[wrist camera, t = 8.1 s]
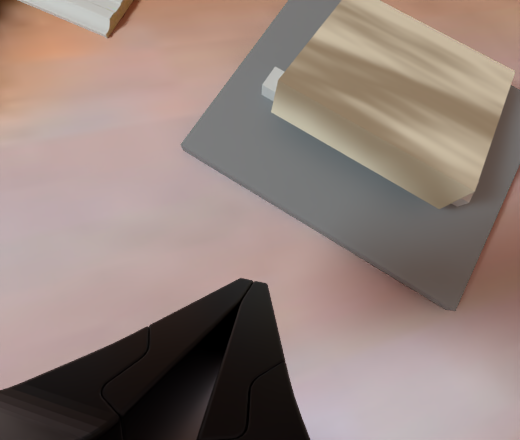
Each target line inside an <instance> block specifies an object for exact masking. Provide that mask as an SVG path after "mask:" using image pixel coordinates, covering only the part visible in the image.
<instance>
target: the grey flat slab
mask: <svg viewBox="0 0 520 440" xmlns="http://www.w3.org/2000/svg"><path fill="white" fill-rule="evenodd" d="M340 2H341V0H288V2H287V3H286V4H285V6H284V7H283V8H282V10H281V11H280V12H279V14H278V15H277V16H276V18H275V19H274V20H273V22H272V23H271V24H270V26H269V27H268V28H267V30H266V31H265V32H264V34H263V35H262V36H261V38H260V39H259V40H258V42H257V43H256V45H255V46H254V47H253V49H252V50H251V51H250V53H249V54H248V55H247V57H246V58H245V59H244V61H243V62H242V63H241V65H240V66H239V67H238V69H237V70H236V71H235V73H234V74H233V75H232V77H231V78H230V79H229V81H228V82H227V83H226V85H225V86H224V87H223V89H222V90H221V91H220V93H219V94H218V95H217V97H216V98H215V99H214V101H213V102H212V103H211V105H210V106H209V107H208V109H207V110H206V111H205V113H204V114H203V115H202V117H201V118H200V119H199V121H198V122H197V123H196V125H195V126H194V127H193V129H192V130H191V131H190V133H189V134H188V135H187V137H186V138H185V139H184V141H183V142H182V143H181V146H182V148H183V150H184V151H185V152H187V153H189V154H190V155H192V156H194V157H195V158H197V159H199V160H200V161H202V162H204V163H205V164H207V165H209V166H210V167H212V168H213V169H215V170H217V171H218V172H220V173H222V174H223V175H225V176H227V177H228V178H230V179H232V180H233V181H235V182H237V183H238V184H240V185H241V186H243V187H245V188H246V189H248V190H250V191H251V192H253V193H255V194H256V195H258V196H260V197H261V198H263V199H265V200H266V201H268V202H269V203H271V204H273V205H274V206H276V207H278V208H279V209H281V210H283V211H284V212H286V213H288V214H289V215H291V216H293V217H294V218H296V219H297V220H299V221H301V222H302V223H304V224H306V225H307V226H309V227H311V228H312V229H314V230H316V231H317V232H319V233H321V234H322V235H324V236H325V237H327V238H329V239H330V240H332V241H334V242H335V243H337V244H339V245H340V246H342V247H344V248H345V249H347V250H349V251H350V252H352V253H353V254H355V255H357V256H358V257H360V258H362V259H363V260H365V261H367V262H368V263H370V264H372V265H373V266H375V267H377V268H378V269H380V270H381V271H383V272H385V273H386V274H388V275H390V276H391V277H393V278H395V279H396V280H398V281H400V282H401V283H403V284H405V285H406V286H408V287H409V288H411V289H413V290H414V291H416V292H418V293H419V294H421V295H423V296H424V297H426V298H428V299H429V300H431V301H433V302H434V303H436V304H437V305H439V306H441V307H442V308H444V309H446V310H452V311H456V308H457V306H458V304H459V301H460V299H461V297H462V295H463V292H464V290H465V288H466V286H467V283H468V281H469V279H470V276H471V274H472V272H473V270H474V267H475V265H476V263H477V261H478V258H479V256H480V254H481V251H482V249H483V247H484V245H485V242H486V240H487V238H488V236H489V233H490V231H491V229H492V226H493V224H494V222H495V220H496V217H497V215H498V213H499V211H500V208H501V206H502V204H503V201H504V199H505V197H506V195H507V192H508V190H509V188H510V186H511V183H512V181H513V179H514V176H515V174H516V172H517V170H518V167H519V165H520V90H519V89H517V88H515V87H513V86H510V89H509V92H508V95H507V98H506V101H505V104H504V107H503V110H502V113H501V116H500V119H499V121H498V124H497V127H496V130H495V133H494V136H493V139H492V142H491V145H490V148H489V151H488V154H487V157H486V160H485V163H484V166H483V169H482V172H481V175H480V178H479V181H478V184H477V187H476V190H475V192H473V193H471V194H469V195H467V196H465V197H463V198H461V199H459V200H457V201H455V202H453V203H451V204H449V205H447V206H445V207H443V208H441V209H438V208H436V207H434V206H433V205H431V204H429V203H428V202H426V201H424V200H422V199H421V198H419V197H417V196H415V195H414V194H412V193H410V192H408V191H407V190H405V189H403V188H402V187H400V186H398V185H396V184H395V183H393V182H391V181H389V180H388V179H386V178H384V177H383V176H381V175H379V174H377V173H376V172H374V171H372V170H370V169H369V168H367V167H365V166H363V165H362V164H360V163H358V162H357V161H355V160H353V159H351V158H350V157H348V156H346V155H344V154H343V153H341V152H339V151H337V150H336V149H334V148H332V147H331V146H329V145H327V144H325V143H324V142H322V141H320V140H318V139H317V138H315V137H313V136H312V135H310V134H308V133H306V132H305V131H303V130H301V129H299V128H298V127H296V126H294V125H292V124H291V123H289V122H287V121H286V120H284V119H282V118H280V117H279V116H277V115H275V114H273V113H272V112H271V110H272V105H273V101H274V96H275V92H276V87H277V83H278V80H279V78H280V77H281V76H282V74H283V73H284V72H285V71H286V69H287V68H288V67H289V66H290V64H291V63H292V62H293V61H294V59H295V58H296V57H297V56H298V54H299V53H300V52H301V51H302V49H303V48H304V47H305V46H306V44H307V43H308V42H309V41H310V39H311V38H312V37H313V36H314V34H315V33H316V32H317V31H318V29H319V28H320V27H321V26H322V24H323V23H324V22H325V21H326V19H327V18H328V17H329V16H330V14H331V13H332V12H333V11H334V9H335V8H336V7H337V5H338V4H339V3H340Z"/></svg>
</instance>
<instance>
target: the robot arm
mask: <svg viewBox="0 0 520 440" xmlns="http://www.w3.org/2000/svg"><path fill="white" fill-rule="evenodd" d="M0 440H310V438H309V435H308V432H307V430H306V427H305V425H304V422H303V419H302V417H301V414H300V411H299V408H298V405H297V402H296V399H295V397H294V393H293V389H292V386H291V382H290V378H289V375H288V370H287V366H286V363H285V358H284V354H283V349H282V345H281V341H280V336H279V332H278V328H277V323H276V319H275V315H274V310H273V306H272V302H271V297H270V293H269V289H268V285H267V284H266V283H262V282H258V281H255V282H253V281H252V280H248V279H243V278H240V279H238V280H236V281H234V282H232V283H230V284H228V285H226V286H224V287H222V288H220V289H218V290H217V291H215V292H213V293H211V294H209V295H207V296H205V297H203V298H201V299H199V300H197V301H195V302H193V303H191V304H190V305H188V306H186V307H184V308H182V309H180V310H178V311H176V312H174V313H172V314H170V315H168V316H166V317H164V318H162V319H161V320H159V321H157V322H155V323H153V324H151V325H150V326H149V327H145V328H143V329H141V330H139V331H137V332H135V333H133V334H131V335H129V336H127V337H125V338H123V339H121V340H119V341H117V342H115V343H113V344H111V345H108V346H106V347H104V348H102V349H99V350H97V351H95V352H93V353H90V354H88V355H86V356H84V357H81V358H79V359H76V360H74V361H72V362H69V363H67V364H65V365H62V366H60V367H58V368H55V369H53V370H51V371H48V372H46V373H44V374H41V375H39V376H36V377H34V378H32V379H29V380H27V381H25V382H22V383H20V384H17V385H15V386H12V387H9V388H6V389H3V390H0Z"/></svg>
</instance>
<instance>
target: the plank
mask: <svg viewBox="0 0 520 440" xmlns="http://www.w3.org/2000/svg"><path fill="white" fill-rule="evenodd" d="M514 74H515V71H514V70H512V69H510V68H508V67H506V66H504V65H502V64H500V63H498V62H496V61H495V60H493V59H491V58H489V57H487V56H485V55H483V54H481V53H479V52H477V51H475V50H474V49H472V48H470V47H468V46H466V45H464V44H462V43H460V42H458V41H456V40H454V39H452V38H451V37H449V36H447V35H445V34H443V33H441V32H439V31H437V30H435V29H433V28H431V27H430V26H428V25H426V24H424V23H422V22H420V21H418V20H416V19H414V18H412V17H410V16H409V15H407V14H405V13H403V12H401V11H399V10H397V9H395V8H393V7H391V6H389V5H387V4H386V3H384V2H382V1H380V0H341V2H340V3H339V4H338V5H337V7H336V8H335V9H334V11H333V12H332V13H331V14H330V16H329V17H328V18H327V19H326V21H325V22H324V23H323V24H322V26H321V27H320V28H319V29H318V31H317V32H316V33H315V34H314V36H313V37H312V38H311V39H310V41H309V42H308V43H307V44H306V46H305V47H304V48H303V49H302V51H301V52H300V53H299V54H298V56H297V57H296V58H295V59H294V61H293V62H292V63H291V64H290V66H289V67H288V68H287V69H286V71H285V72H284V73H283V74H282V76H281V77H280V78H279V80H278V83H277V87H276V92H275V96H274V101H273V105H272V110H271V112H272V113H273V114H275V115H277V116H279V117H280V118H282V119H284V120H286V121H287V122H289V123H291V124H292V125H294V126H296V127H298V128H299V129H301V130H303V131H305V132H306V133H308V134H310V135H312V136H313V137H315V138H317V139H318V140H320V141H322V142H324V143H325V144H327V145H329V146H331V147H332V148H334V149H336V150H337V151H339V152H341V153H343V154H344V155H346V156H348V157H350V158H351V159H353V160H355V161H357V162H358V163H360V164H362V165H363V166H365V167H367V168H369V169H370V170H372V171H374V172H376V173H377V174H379V175H381V176H383V177H384V178H386V179H388V180H389V181H391V182H393V183H395V184H396V185H398V186H400V187H402V188H403V189H405V190H407V191H408V192H410V193H412V194H414V195H415V196H417V197H419V198H421V199H422V200H424V201H426V202H428V203H429V204H431V205H433V206H434V207H436V208H438V209H441V208H443V207H445V206H447V205H449V204H451V203H453V202H455V201H457V200H459V199H461V198H463V197H465V196H467V195H469V194H471V193H473V192H475V190H476V187H477V184H478V181H479V178H480V175H481V172H482V169H483V166H484V163H485V160H486V157H487V154H488V151H489V148H490V145H491V142H492V139H493V136H494V133H495V130H496V127H497V124H498V121H499V119H500V116H501V113H502V110H503V107H504V104H505V101H506V98H507V95H508V92H509V89H510V86H511V83H512V80H513V77H514Z"/></svg>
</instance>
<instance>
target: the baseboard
mask: <svg viewBox="0 0 520 440" xmlns="http://www.w3.org/2000/svg"><path fill="white" fill-rule="evenodd" d="M19 1H21V2H23V3H26V4H28V5H30V6H33V7H35V8H37V9H40V10H42V11H45V12H47V13H49V14H52V15H54V16H56V17H59V18H61V19H63V20H66V21H68V22H70V23H73V24H75V25H78V26H80V27H82V28H85V29H87V30H89V31H92V32H94V33H96V34H99V35H101V36H104V37H106V38H108V37H109V35H110V34H111V32H112V31H113V30H114V28H115V27H116V25H117V24H118V22H119V21H120V19H121V18H122V16H123V15H124V13H125V12H126V10H127V9H128V8H129V6H130V5H131V3H132V2H133V0H19Z"/></svg>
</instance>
